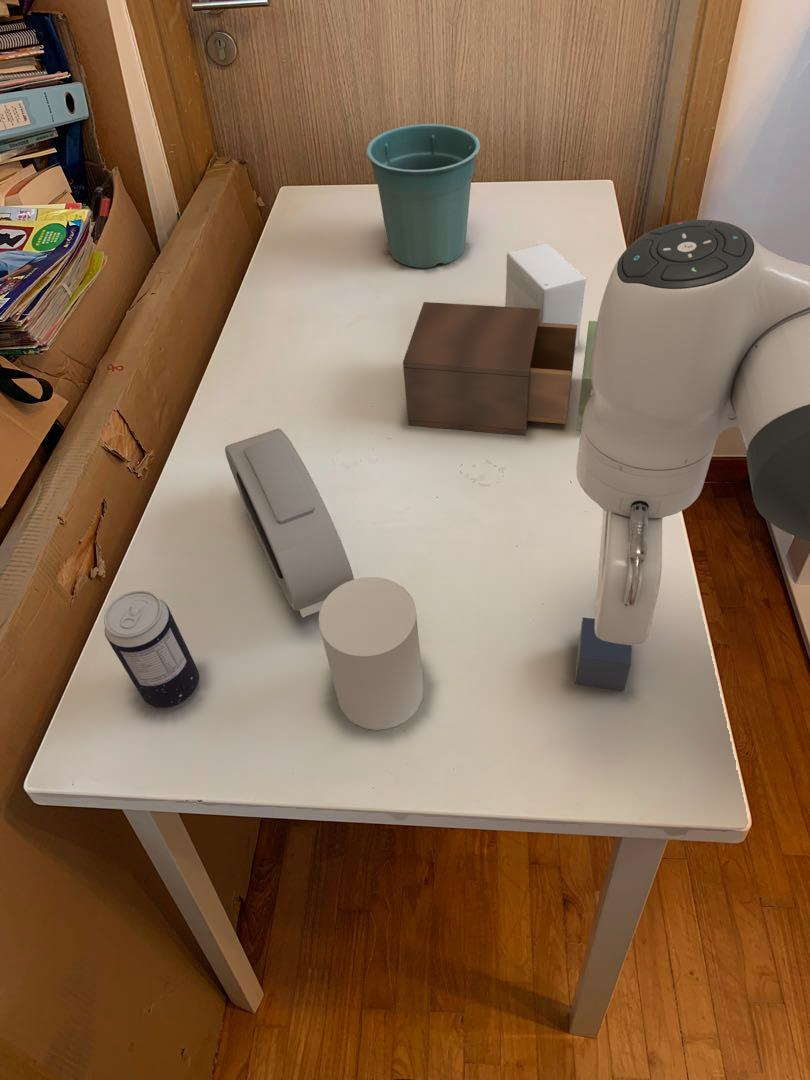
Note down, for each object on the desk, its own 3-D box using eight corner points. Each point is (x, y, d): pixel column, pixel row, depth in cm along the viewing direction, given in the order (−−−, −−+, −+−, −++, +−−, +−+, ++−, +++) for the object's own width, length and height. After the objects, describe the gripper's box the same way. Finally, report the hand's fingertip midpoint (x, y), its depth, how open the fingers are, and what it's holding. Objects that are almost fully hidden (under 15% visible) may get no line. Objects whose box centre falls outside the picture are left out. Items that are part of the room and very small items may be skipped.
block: (626, 650, 78) (632, 623, 75) (624, 691, 75) (631, 664, 72) (578, 644, 79) (582, 616, 76) (574, 684, 76) (579, 657, 73)
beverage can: (210, 667, 80) (176, 591, 71) (187, 717, 77) (148, 645, 68) (157, 658, 81) (117, 582, 72) (132, 707, 78) (87, 634, 69)
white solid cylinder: (441, 686, 77) (436, 610, 68) (381, 746, 73) (367, 674, 64) (379, 640, 81) (367, 562, 72) (319, 694, 77) (298, 619, 68)
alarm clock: (238, 497, 96) (212, 412, 86) (288, 479, 97) (267, 394, 88) (304, 644, 81) (281, 562, 72) (362, 621, 83) (346, 537, 73)
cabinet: (536, 372, 107) (540, 308, 100) (525, 435, 99) (528, 371, 92) (427, 364, 110) (423, 301, 103) (408, 425, 102) (402, 361, 95)
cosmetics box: (580, 347, 110) (588, 277, 103) (537, 360, 109) (542, 290, 101) (543, 308, 117) (548, 240, 109) (503, 320, 116) (504, 252, 108)
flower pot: (444, 213, 138) (440, 113, 126) (500, 254, 128) (502, 149, 116) (358, 244, 133) (346, 142, 121) (409, 288, 123) (402, 182, 111)
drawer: (631, 376, 104) (640, 323, 98) (628, 435, 97) (638, 382, 91) (487, 366, 108) (488, 314, 102) (474, 422, 100) (473, 370, 94)
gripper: (691, 577, 50) (653, 695, 60) (687, 372, 63) (656, 498, 73) (586, 564, 51) (566, 682, 61) (603, 366, 64) (585, 491, 74)
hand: (615, 580), depth 67 cm, fingers open, 8 cm apart
